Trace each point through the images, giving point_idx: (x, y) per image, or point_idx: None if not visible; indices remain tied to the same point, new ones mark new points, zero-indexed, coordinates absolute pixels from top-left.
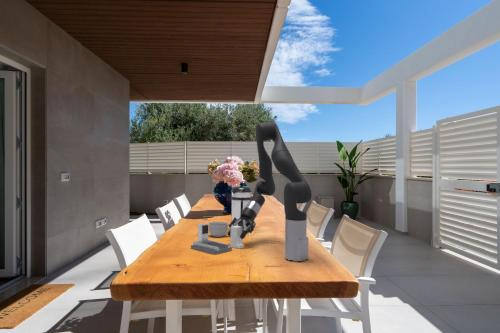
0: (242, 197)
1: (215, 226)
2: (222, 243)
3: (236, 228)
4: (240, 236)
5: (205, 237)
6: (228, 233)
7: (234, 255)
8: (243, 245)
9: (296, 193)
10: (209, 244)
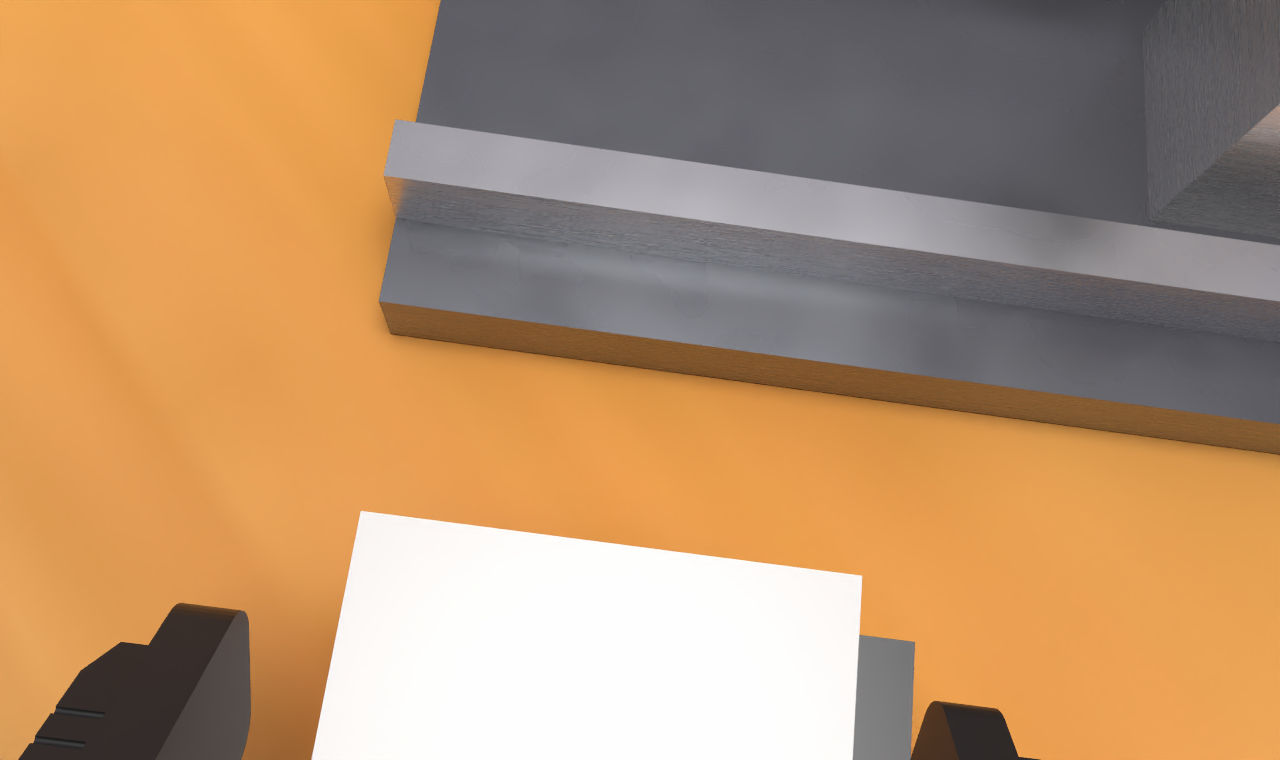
0: None
1: None
2: (663, 183)
3: (371, 526)
4: (206, 610)
5: (1264, 19)
6: (961, 714)
7: (72, 20)
8: None
9: None
10: (1097, 219)
